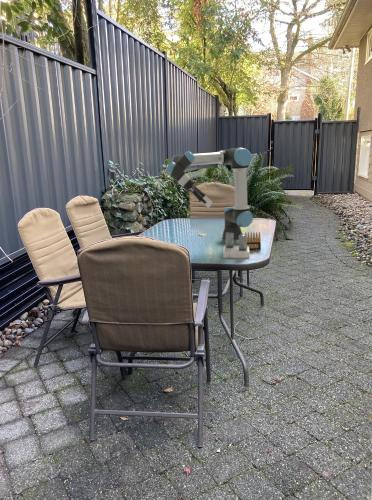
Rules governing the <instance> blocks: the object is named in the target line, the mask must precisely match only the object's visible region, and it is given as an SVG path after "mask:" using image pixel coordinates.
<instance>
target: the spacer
mask: <svg viewBox="0 0 372 500" xmlns="http://www.w3.org/2000/svg"><path fill="white" fill-rule="evenodd" d="M234 241H235V239H234V233H232V232H228V233H226V239H225V246H226V248H233V247H234V246H235V245H234Z"/></svg>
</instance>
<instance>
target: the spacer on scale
mask: <svg viewBox="0 0 372 500" xmlns="http://www.w3.org/2000/svg"><path fill="white" fill-rule="evenodd" d="M247 237H248V234H247V235H245V234H243V235H239V239H238V246H239V250H240V251H246V250H247Z"/></svg>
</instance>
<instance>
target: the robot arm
mask: <svg viewBox="0 0 372 500" xmlns="http://www.w3.org/2000/svg"><path fill="white" fill-rule="evenodd" d="M251 162H252V153H251V152H250V150H248V149H247V148H243V147H236V148H234V147H233V148H228V149H223V150H219V151H216V152H204V153H203V152H202V153H192V152H191V151H186V152H185V153H184V154H175V155H174V156H172V158H171V163H170V164H169V165H168V166H167V167H166V169H165V171H166V173H168V175H169V176H171V177H172V178H173V179H174V180H175V182H177V183H178V185H181V187H183V188H182V189H184V190H186V191H188V190H189V191H190V193H192V194H193V195H194V197H195V198H197V199H198V201H199V203H200V202H201V203H202V204H203V205H204V206H205V207H206V208H207V209H209V208H210V207H211V206H212V204H213V201H212V200H211V199H210V198H209V197H208V196H207V195H206V193H204V192H203V191H201V189H200V188H198V186H196V185H194V184H195V182H196V181H194V180H193V179H192V178H190V176H189V175H188V174H187V173H186V172H185V171H186V170H188V168H189V167H190V166H201V165H213V164H219V165H227V166H231V170H232V171H233V183H234V187H233V188H234V206H230V207H229V206H228V207H225V208H224V210H223V211H224V212H223V214H224V227H223V232H222V233H221V234H222V235H221V236H222V237H221V238H222V239H224V240H226V233H228V232H232V233H234V240H239V235H244V234H243V231H242V229H241V228H247V227H249V226H250V225H251V224H252V222H253V221H254V220H253V219H254V217H253V216H254V215H253V214H252V212H251V207H250V206H249V205H248V182H247V181H248V179H247V178H248V177H247V176H248V175H247V170H248V169H249V165H250V163H251Z"/></svg>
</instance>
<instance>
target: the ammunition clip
mask: <svg viewBox="0 0 372 500" xmlns="http://www.w3.org/2000/svg"><path fill="white" fill-rule="evenodd" d="M244 235H247V246H249V251H260V250H262V245H261V244H262V243H261V240H262V239H261V232H260V231H256V232H255V231H253V232H252V231H251V232H249V231H248V232H244Z"/></svg>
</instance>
